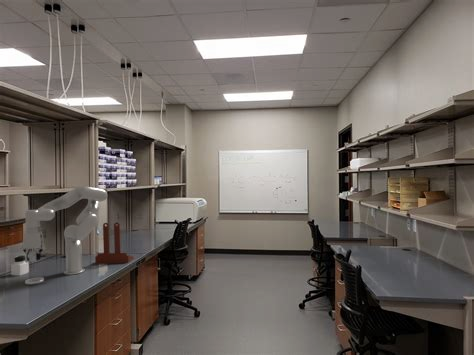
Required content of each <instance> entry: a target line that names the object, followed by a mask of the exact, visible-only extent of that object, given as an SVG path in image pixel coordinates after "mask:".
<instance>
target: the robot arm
mask: <svg viewBox="0 0 474 355" xmlns="http://www.w3.org/2000/svg"><path fill="white" fill-rule="evenodd" d="M107 198H108V192H107V191H106V190H105V189H103V188H98V187H92V186H88V185H79V186H76V187H74V188H72V189H71V190H70V191H68V192H66V193H65V194H63V195H61V196H59V197H57V198H55V199H53V200H50V201H49V202H47V203H45V204H44V205H42V206H40V207H38V208H37V209H29V210H26V211H25V233H24V235H23V244H22V245H21V246H20V250H22V251H23V252H24V254H25V255H26V261H27V262H29V258H28V257H27V255H28V254H29V251H32V250H37V254H36V260H38V261H39V260H40V259H41V258H42V254H41V253H42V252H43V251H44V250H45V249H46V248H47V246H46V245H45V243H44V242H45V241H44V236H43V232H42V230H43V228H42V227H41V222H42V221H45V222H47V221H52V220H53V219H54V218H55V216H56V212H57V211H60V210H64V209H67V208H70V207H71V206H73V205H74V204H76V203H78V202H79V201H80V200H82V199H85V200H87V205H86V207H85V208H84V209H83V210H82V211H81V212H80V214H78V216H77V217H76V224H70V225H68V226H66V227H65V228H64V231H63V235H64V236H63V237H64V242H65V261H66V262H65V264H66V265H65V266H66V267H65V268H66V270H64V271H63V274H64V275H67V276H68V275H69V276H70V275H71V276H72V275H77V274H82V273H84V272H85V270H86V269H85V268H84V267H83V266H84V263H83V253H82V252H83V251H82V250H83V249H82V246H83V245H82V241H84V240H85V239H86V238H87V237H88V236H89V235H90V234H91V232H92V231H93V230H94V229H95V227H96V226H97V225H98V223H99V219H98V215H97V214H98V213H99V211H100V207H101V204H100V203H101V202H104V201H106V200H107Z"/></svg>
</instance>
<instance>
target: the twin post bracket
mask: <svg viewBox="0 0 474 355" xmlns="http://www.w3.org/2000/svg"><path fill="white" fill-rule="evenodd" d="M102 237H103V239H102V240H103V253H102V252H101V253H97V254H96V255H95V256H94V261H95V264H96V265H97V264H98V265H99V264H104V265H105V264H128V263H130V262H131V261H133V260H134V259H135V256H133V255H132V256H131V255H130V254H127V253H126V252H121V226H120V223H119V222H115V223H114V224H113V239H114V242H113V243H114V252H110V251H111V250H110V224H109V223H108V222H104V223H103V225H102Z"/></svg>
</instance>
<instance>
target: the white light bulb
mask: <svg viewBox="0 0 474 355" xmlns="http://www.w3.org/2000/svg"><path fill="white" fill-rule="evenodd" d="M36 254H37V250H36V249H32V250H30V251H29V254H28V255H27V254H26V258H27V257H28V258H29V261H28V263H34V262H35V263H36V262H38V261H39V260H36Z"/></svg>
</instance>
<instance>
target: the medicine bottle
mask: <svg viewBox="0 0 474 355" xmlns="http://www.w3.org/2000/svg"><path fill="white" fill-rule="evenodd" d="M13 260H14V263H11V264H10V270H11V271H10V272H11V276H23V275H26V274H28V273H29V272H30V268H29V267H30V266H29V263H30V262H29V261H27V262H26V256H25V255H17V256H15V257H14V258H13ZM29 274H30V273H29Z"/></svg>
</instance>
